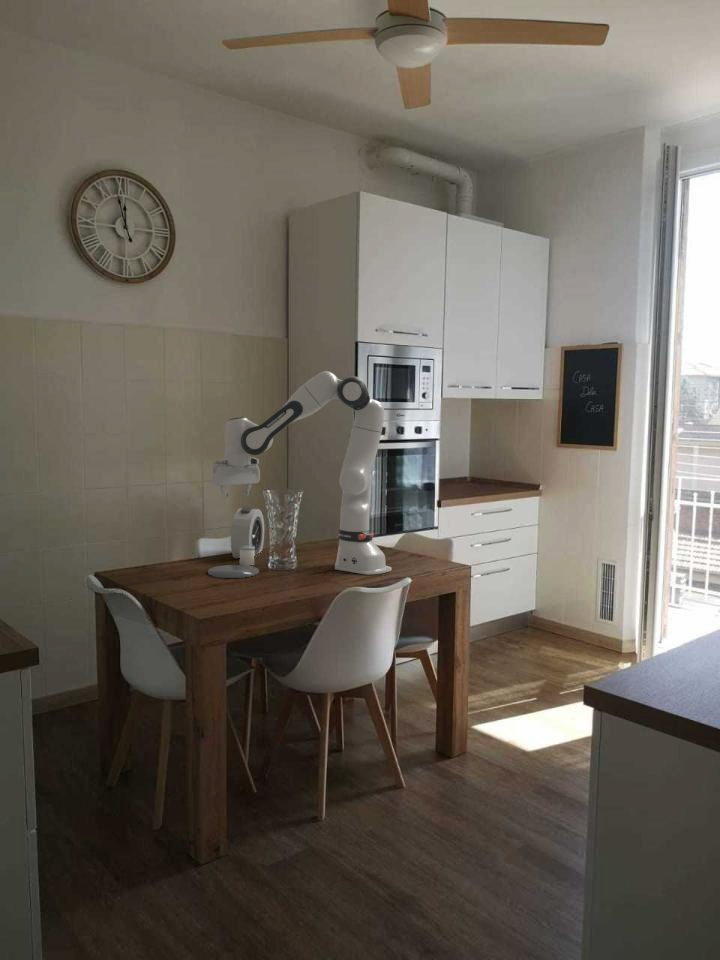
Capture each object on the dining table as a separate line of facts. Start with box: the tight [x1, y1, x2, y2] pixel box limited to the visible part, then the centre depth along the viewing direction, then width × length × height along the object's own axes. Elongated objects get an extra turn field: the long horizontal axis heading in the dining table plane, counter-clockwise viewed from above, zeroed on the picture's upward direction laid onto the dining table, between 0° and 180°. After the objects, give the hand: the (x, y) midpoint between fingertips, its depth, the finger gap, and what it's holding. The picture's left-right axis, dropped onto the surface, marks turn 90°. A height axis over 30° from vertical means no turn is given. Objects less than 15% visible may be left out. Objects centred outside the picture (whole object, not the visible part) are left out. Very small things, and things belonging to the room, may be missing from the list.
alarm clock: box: [230, 505, 265, 559], centre depth 306 cm, size 21×8×20 cm, turn 171°
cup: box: [239, 545, 255, 566], centre depth 289 cm, size 6×6×7 cm
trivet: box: [207, 564, 260, 579], centre depth 275 cm, size 18×18×1 cm
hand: (235, 496), depth 290 cm, fingers open, 8 cm apart
